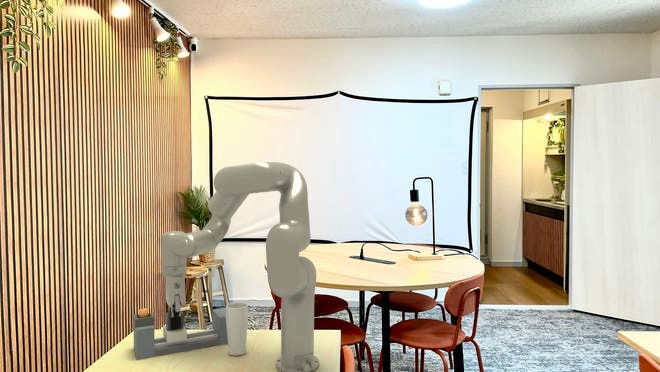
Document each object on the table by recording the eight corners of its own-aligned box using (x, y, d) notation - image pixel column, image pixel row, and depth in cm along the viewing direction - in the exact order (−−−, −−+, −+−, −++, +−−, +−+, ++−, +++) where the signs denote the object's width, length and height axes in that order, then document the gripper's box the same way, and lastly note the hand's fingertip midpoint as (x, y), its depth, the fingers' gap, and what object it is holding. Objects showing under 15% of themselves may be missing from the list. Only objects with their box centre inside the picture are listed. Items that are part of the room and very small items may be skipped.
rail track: (226, 333, 158) (226, 300, 157) (234, 342, 149) (234, 307, 149) (133, 348, 143) (132, 312, 143) (136, 359, 135) (135, 321, 134)
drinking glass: (242, 358, 136) (242, 309, 136) (222, 356, 137) (221, 307, 137) (251, 349, 143) (251, 302, 142) (231, 348, 144) (231, 301, 144)
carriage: (182, 332, 150) (182, 308, 149) (186, 340, 142) (186, 314, 142) (163, 335, 147) (163, 310, 146) (166, 343, 140) (166, 317, 139)
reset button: (147, 317, 142) (147, 307, 142) (149, 319, 139) (148, 310, 139) (138, 318, 141) (138, 308, 141) (139, 321, 138) (139, 311, 138)
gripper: (191, 273, 139) (191, 333, 139) (182, 264, 153) (182, 318, 153) (165, 276, 135) (166, 337, 136) (158, 266, 150) (159, 321, 150)
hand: (174, 326), depth 144 cm, fingers closed on carriage, 3 cm apart
